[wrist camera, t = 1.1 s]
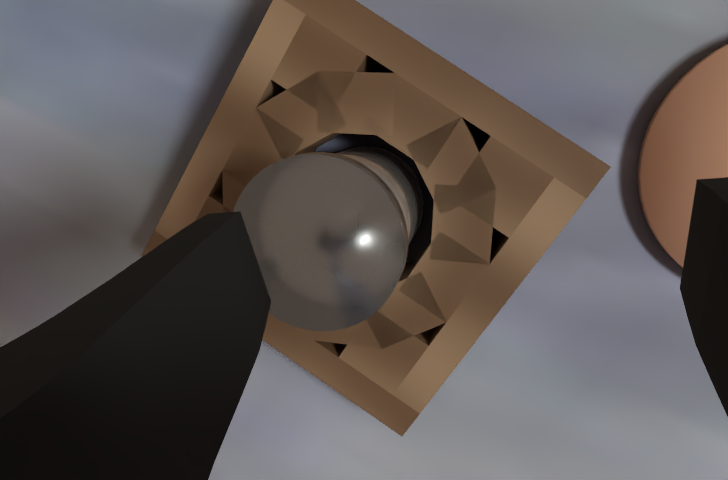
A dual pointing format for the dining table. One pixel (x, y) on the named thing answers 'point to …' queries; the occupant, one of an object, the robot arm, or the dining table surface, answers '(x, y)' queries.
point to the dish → (684, 150)
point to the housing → (437, 166)
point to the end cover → (331, 233)
